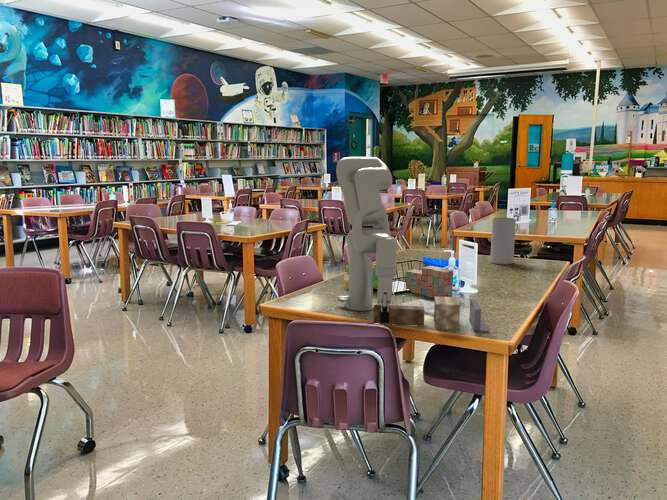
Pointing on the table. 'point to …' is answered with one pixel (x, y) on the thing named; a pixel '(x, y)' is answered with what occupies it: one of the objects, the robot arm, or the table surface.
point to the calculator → (427, 305)
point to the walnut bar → (401, 315)
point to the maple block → (446, 313)
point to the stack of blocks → (430, 281)
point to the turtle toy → (375, 278)
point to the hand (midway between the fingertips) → (384, 320)
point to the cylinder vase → (503, 240)
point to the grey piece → (476, 317)
